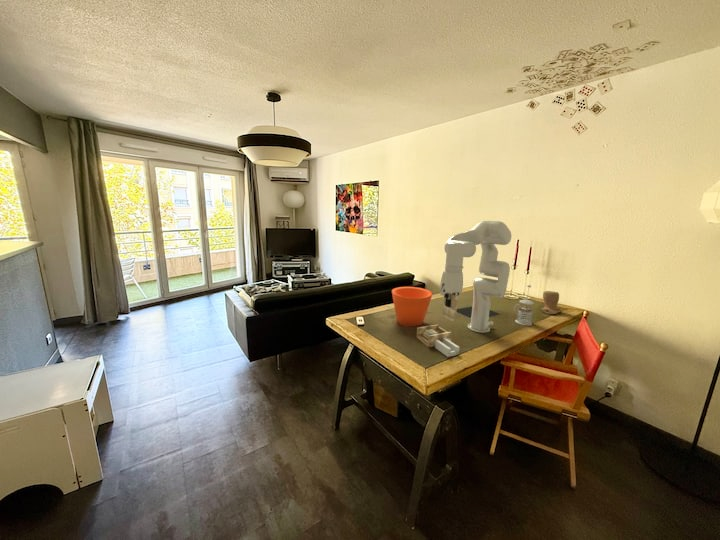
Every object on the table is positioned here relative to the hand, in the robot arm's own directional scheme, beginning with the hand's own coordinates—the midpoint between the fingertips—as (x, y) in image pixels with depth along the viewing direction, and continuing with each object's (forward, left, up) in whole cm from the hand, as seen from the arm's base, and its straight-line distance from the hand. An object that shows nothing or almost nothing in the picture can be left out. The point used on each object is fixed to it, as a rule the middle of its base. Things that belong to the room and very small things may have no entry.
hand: (450, 306), depth 129 cm
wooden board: (0, 0, -6) cm, 6 cm away
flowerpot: (-4, -40, -25) cm, 47 cm away
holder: (0, 0, -24) cm, 24 cm away
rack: (-1, -12, -24) cm, 27 cm away
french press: (-73, -15, -25) cm, 79 cm away
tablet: (-58, -39, -25) cm, 74 cm away
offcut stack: (+1, -12, -23) cm, 26 cm away
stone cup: (-111, -22, -25) cm, 115 cm away
